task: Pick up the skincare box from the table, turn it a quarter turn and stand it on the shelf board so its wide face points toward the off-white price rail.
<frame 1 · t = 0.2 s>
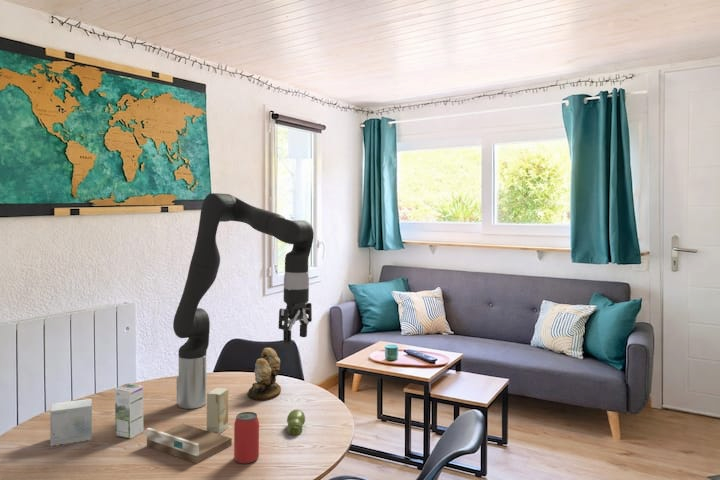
hand: (295, 339, 156), 29 cm above the table, tool pointing down, fingers open, 8 cm apart
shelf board: (189, 445, 148), on the table
skincare box: (217, 430, 159), on the table
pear: (295, 430, 160), on the table
brown lumpy upright piece: (264, 393, 193), on the table
skincare box 2: (71, 440, 150), on the table
syrup box: (129, 434, 155), on the table
beer can: (246, 459, 140), on the table
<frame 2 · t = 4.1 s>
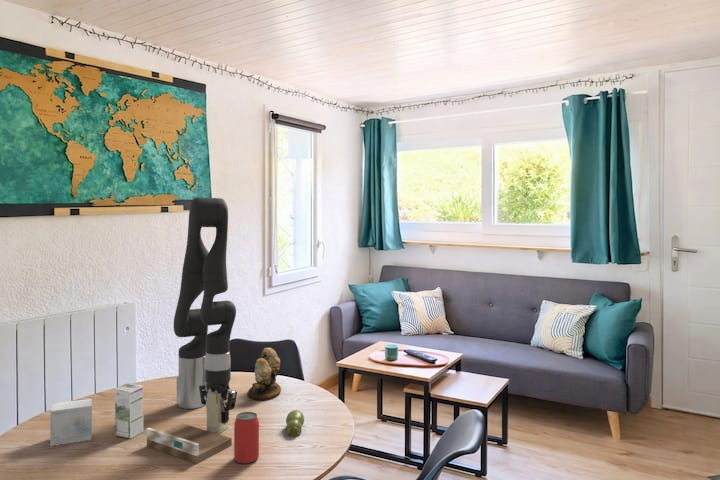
hand: (217, 420, 158), 3 cm above the table, tool pointing down, fingers closed on skincare box, 5 cm apart
skincare box: (217, 430, 159), on the table, touching gripper
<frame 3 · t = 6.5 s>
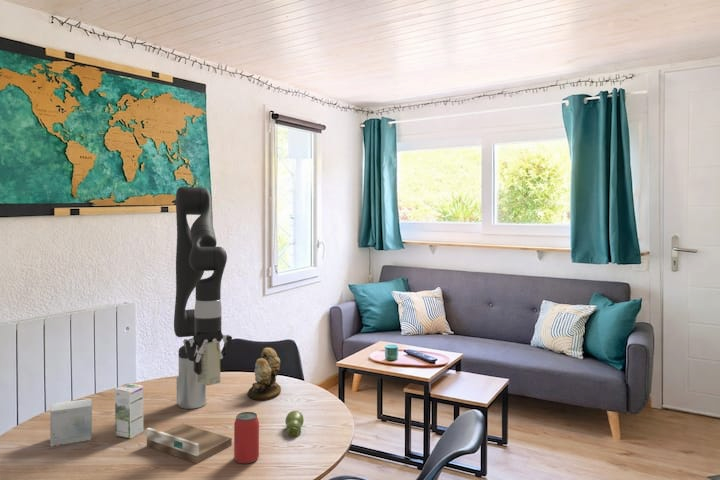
hand: (208, 372, 151), 20 cm above the table, tool pointing down, fingers closed on skincare box, 5 cm apart
skincare box: (208, 383, 151), point 17 cm above the table, touching gripper
when the fingers open (6 cm above the table, at t = 9.0 s): skincare box drops 1 cm, resting on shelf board.
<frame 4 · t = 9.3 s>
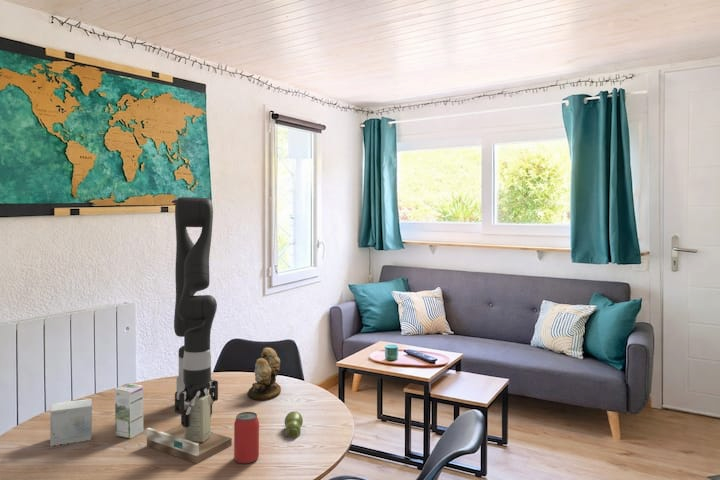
hand: (197, 421, 147), 7 cm above the table, tool pointing down, fingers open, 7 cm apart
skincare box: (197, 439, 148), point 2 cm above the table, touching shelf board
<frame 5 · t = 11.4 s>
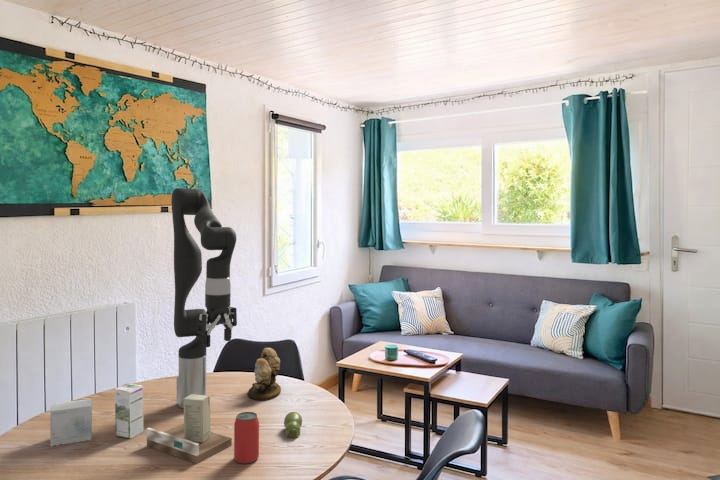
hand: (217, 343, 160), 26 cm above the table, tool pointing down, fingers open, 8 cm apart
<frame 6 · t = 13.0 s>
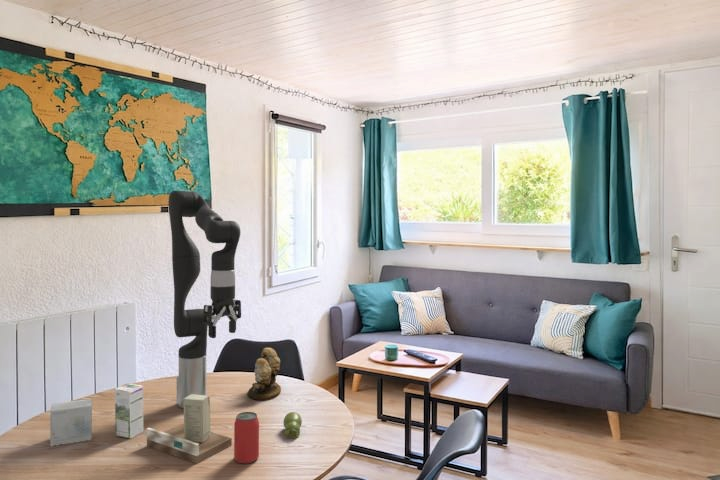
hand: (222, 335, 163), 28 cm above the table, tool pointing down, fingers open, 8 cm apart
at the end: skincare box inside the target area on the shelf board (1.2 cm from its centre), point 1.8 cm above the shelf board's base; skincare box tilted 0°; the gripper is holding nothing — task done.
